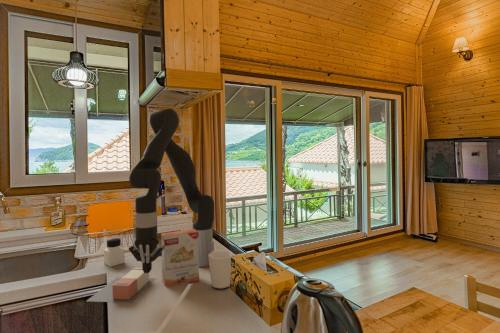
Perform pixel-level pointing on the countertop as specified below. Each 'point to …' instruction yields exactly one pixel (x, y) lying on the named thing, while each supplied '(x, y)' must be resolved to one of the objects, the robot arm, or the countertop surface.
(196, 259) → the cracker box
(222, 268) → the cup
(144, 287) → the white piece
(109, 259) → the medicine bottle
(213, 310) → the countertop surface
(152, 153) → the robot arm
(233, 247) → the countertop surface
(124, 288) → the stub
